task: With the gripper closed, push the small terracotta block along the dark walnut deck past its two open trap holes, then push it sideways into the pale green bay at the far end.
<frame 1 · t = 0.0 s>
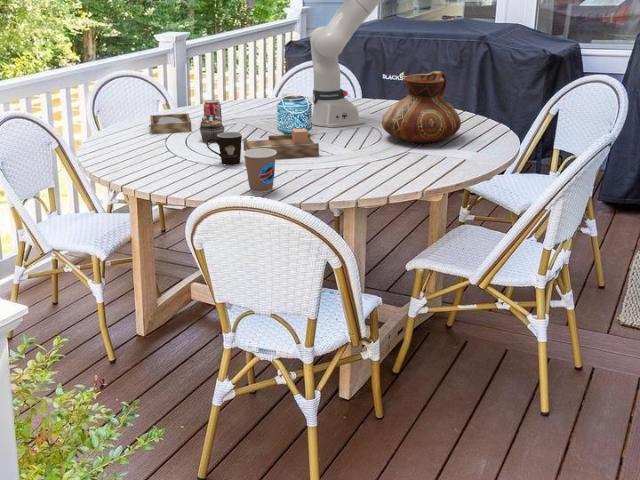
hand: (250, 7, 313), 48 cm above the table, tool pointing down, fingers open, 8 cm apart
block: (300, 140, 295), point 3 cm above the table, touching trap box
jug: (420, 139, 307), on the table
cupcake: (212, 141, 310), on the table
coffee mug: (227, 163, 279), on the table
coffee cup: (261, 190, 249), on the table
trap box: (280, 152, 291), on the table
soda can: (213, 130, 327), on the table
stone block: (170, 129, 331), on the table
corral: (170, 128, 331), on the table
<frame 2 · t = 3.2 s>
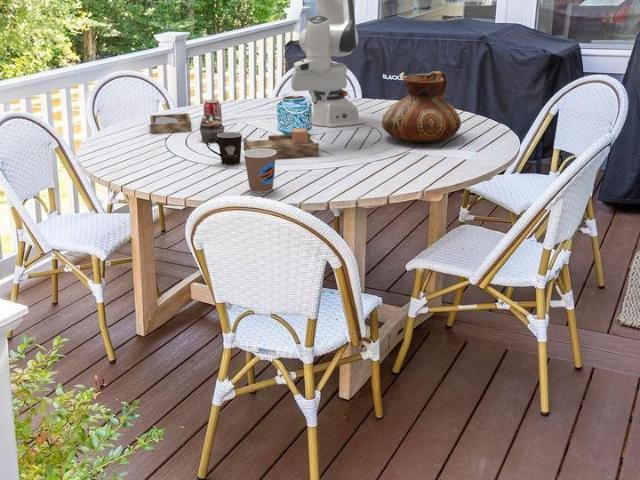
hand: (319, 101, 291), 17 cm above the table, tool pointing down, fingers closed
stone block: (167, 129, 331), on the table
everything else where it was.
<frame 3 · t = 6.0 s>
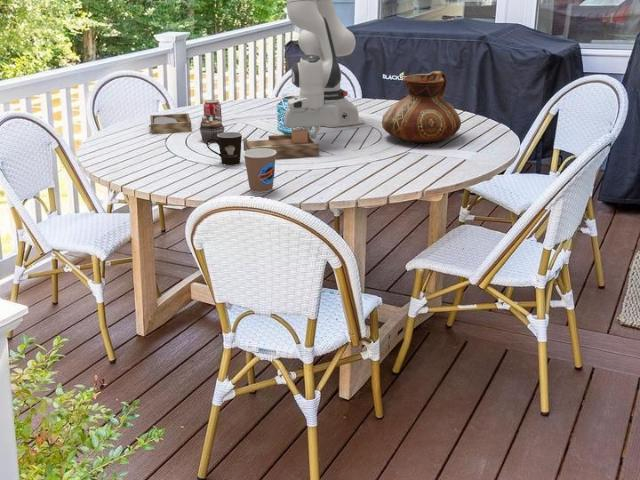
hand: (312, 138, 295), 4 cm above the table, tool pointing down, fingers closed
block: (299, 140, 295), point 3 cm above the table, touching gripper, trap box
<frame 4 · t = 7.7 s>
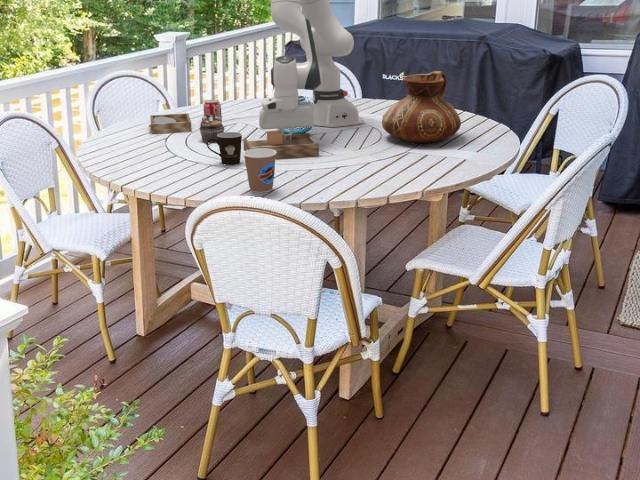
hand: (287, 139, 293), 4 cm above the table, tool pointing down, fingers closed
block: (274, 142, 293), point 3 cm above the table, touching gripper, trap box
everything else where it was.
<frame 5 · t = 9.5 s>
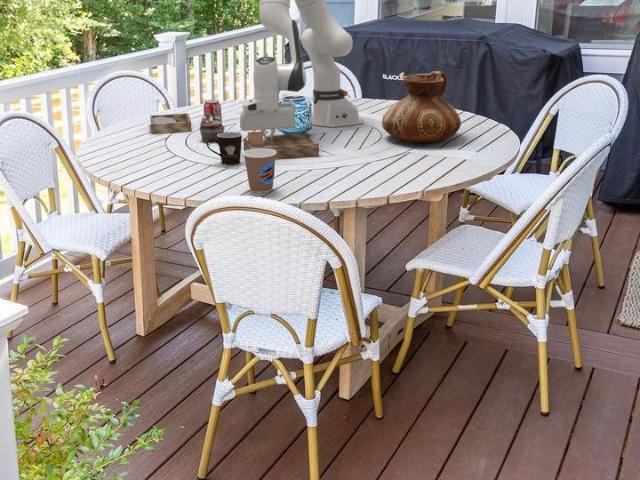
hand: (268, 141, 292), 4 cm above the table, tool pointing down, fingers closed
block: (255, 143, 291), point 3 cm above the table, touching gripper, trap box
everything else where it was.
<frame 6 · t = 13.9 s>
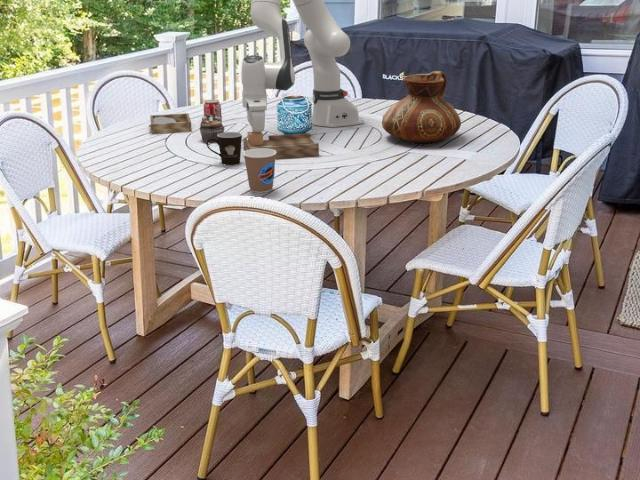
hand: (256, 138, 295), 4 cm above the table, tool pointing down, fingers closed
nothing on the table moved.
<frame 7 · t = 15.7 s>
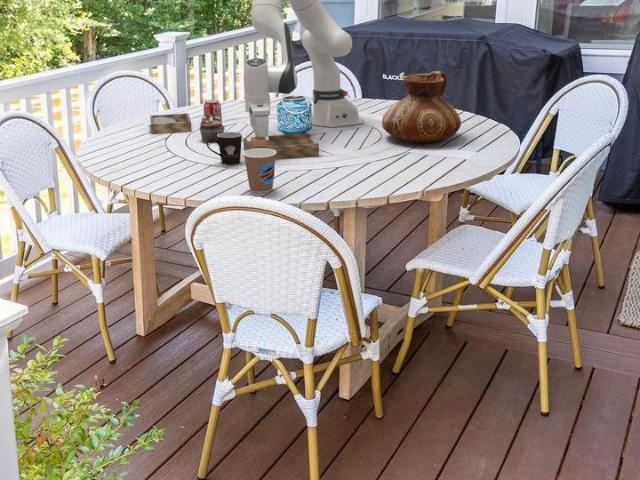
hand: (259, 143, 288), 4 cm above the table, tool pointing down, fingers closed
block: (258, 149, 284), point 3 cm above the table, touching gripper, trap box
everything else where it was.
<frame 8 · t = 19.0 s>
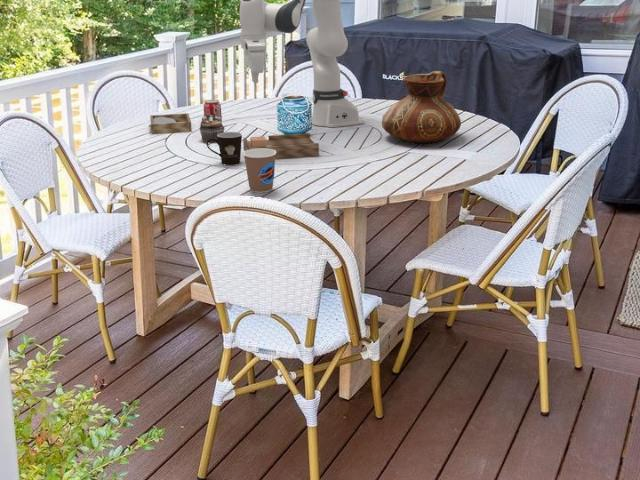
hand: (255, 82, 286), 25 cm above the table, tool pointing down, fingers closed
block: (258, 149, 284), point 3 cm above the table, touching trap box
everything else where it was.
at the end: block 1.2 cm from the target spot on the trap box, point 3.0 cm above the trap box's base; block point 3.0 cm above the table; block tilted 0° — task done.
